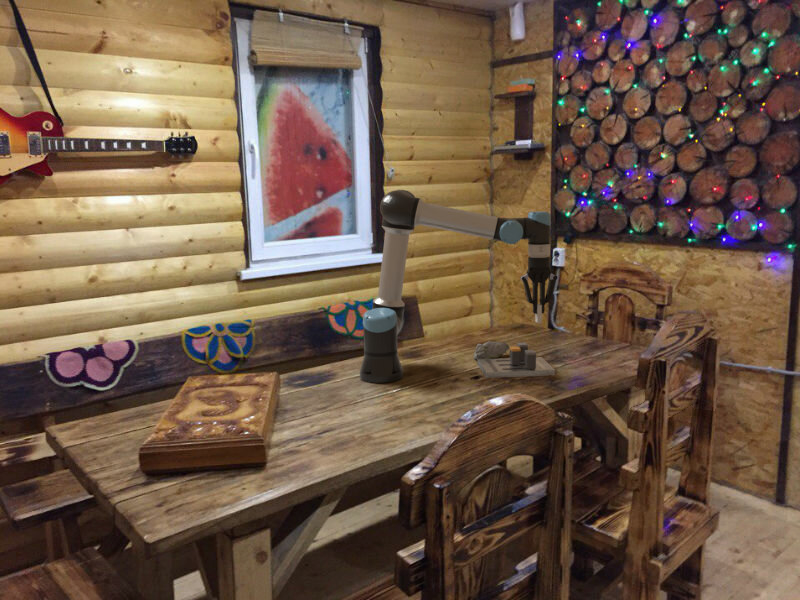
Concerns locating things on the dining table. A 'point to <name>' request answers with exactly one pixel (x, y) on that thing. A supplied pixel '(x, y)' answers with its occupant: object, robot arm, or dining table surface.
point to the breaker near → (530, 359)
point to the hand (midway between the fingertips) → (538, 322)
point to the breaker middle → (515, 355)
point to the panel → (513, 368)
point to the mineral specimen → (490, 350)
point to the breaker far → (522, 349)
